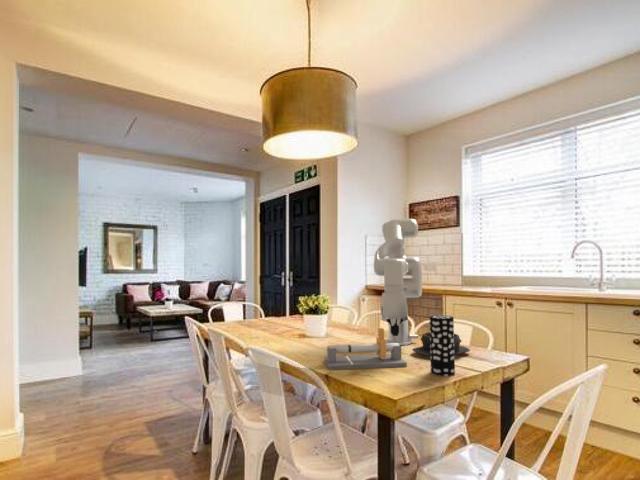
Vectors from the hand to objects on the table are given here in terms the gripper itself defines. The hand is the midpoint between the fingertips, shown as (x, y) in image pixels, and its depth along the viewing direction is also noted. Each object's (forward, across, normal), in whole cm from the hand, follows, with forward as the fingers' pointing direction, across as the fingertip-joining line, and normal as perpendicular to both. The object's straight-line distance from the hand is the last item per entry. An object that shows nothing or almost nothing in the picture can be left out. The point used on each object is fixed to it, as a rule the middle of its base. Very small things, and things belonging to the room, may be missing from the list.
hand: (394, 335), depth 158 cm
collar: (+8, +6, 0) cm, 10 cm away
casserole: (+11, -23, -10) cm, 28 cm away
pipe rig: (+11, +13, 0) cm, 17 cm away
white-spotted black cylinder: (+11, -12, +17) cm, 24 cm away
